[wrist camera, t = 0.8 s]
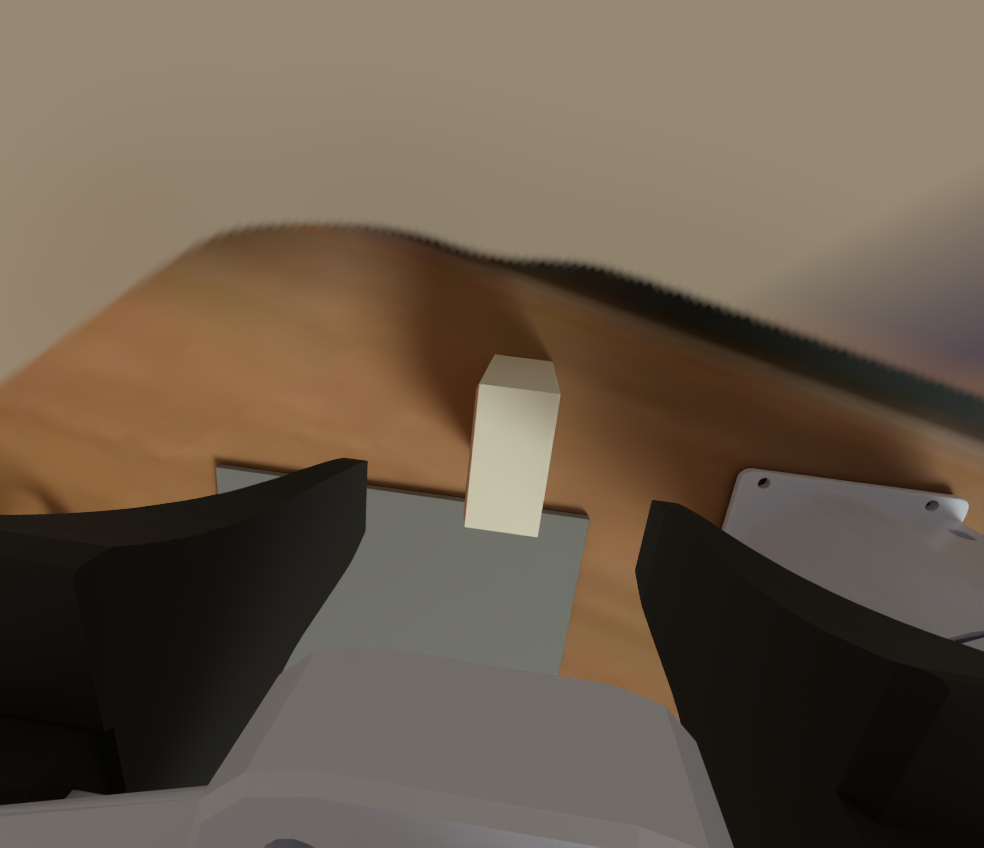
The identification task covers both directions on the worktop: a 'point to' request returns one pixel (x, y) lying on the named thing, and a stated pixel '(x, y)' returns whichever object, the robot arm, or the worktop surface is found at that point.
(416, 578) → the mat
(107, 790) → the robot arm
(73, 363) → the worktop surface
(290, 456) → the worktop surface
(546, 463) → the cream upright block
